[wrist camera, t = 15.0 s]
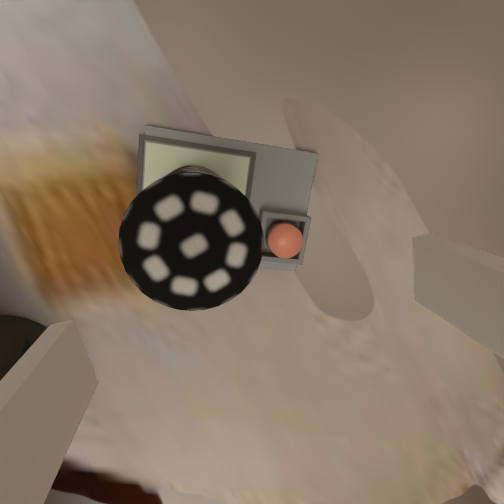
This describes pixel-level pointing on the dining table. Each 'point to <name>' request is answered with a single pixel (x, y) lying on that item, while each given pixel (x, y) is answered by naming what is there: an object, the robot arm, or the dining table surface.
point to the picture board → (239, 176)
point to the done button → (284, 239)
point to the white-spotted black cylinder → (191, 240)
